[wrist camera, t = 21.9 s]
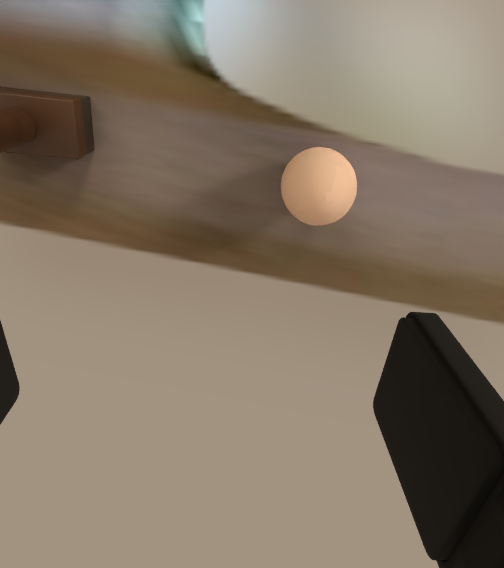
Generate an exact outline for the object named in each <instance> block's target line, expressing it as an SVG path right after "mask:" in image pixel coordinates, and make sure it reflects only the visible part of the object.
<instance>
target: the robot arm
mask: <svg viewBox="0 0 504 568" xmlns="http://www.w3.org/2000/svg"><path fill="white" fill-rule="evenodd" d="M18 395H19V382H18V379H17V375H16V372H15V368H14V365H13V362H12V358H11V355H10V352H9V348H8V345H7V341H6V338H5V335H4V332H3V328H2V324H1V321H0V424H1V423H2V421H3V420H4V418H5V416H6V415H7V413H8V412H9V411H10V409H11V408H12V406H13V405H14V403H15V402H16V400H17V397H18ZM373 408H374V413H375V416H376V419H377V421H378V424H379V427H380V430H381V432H382V435H383V438H384V441H385V443H386V446H387V449H388V451H389V454H390V456H391V459H392V462H393V465H394V467H395V470H396V473H397V475H398V478H399V481H400V483H401V486H402V489H403V491H404V494H405V496H406V499H407V502H408V505H409V507H410V510H411V513H412V515H413V518H414V521H415V523H416V526H417V529H418V531H419V534H420V537H421V539H422V542H423V545H424V547H425V550H426V552H427V554H428V556H429V557H430V558H431V559H432V560H436V561H437V563H438V566H439V568H504V401H503V399H502V398H501V397H500V396H499V394H498V393H497V392H496V390H495V389H494V388H493V386H492V385H491V384H490V383H489V381H488V380H487V379H486V377H485V376H484V375H483V373H482V372H481V371H480V370H479V368H478V367H477V366H476V364H475V363H474V362H473V360H472V359H471V358H470V357H469V355H468V354H467V353H466V351H465V350H464V349H463V347H462V346H461V345H460V343H459V342H458V341H457V340H456V338H455V337H454V335H453V334H452V333H451V332H450V330H449V329H448V328H447V326H446V325H445V324H444V322H443V321H442V320H441V319H440V317H439V316H438V315H437V314H435V313H421V312H410V313H408V315H407V316H406V318H401V319H400V320H399V322H398V325H397V328H396V331H395V334H394V337H393V340H392V343H391V347H390V350H389V353H388V356H387V359H386V362H385V365H384V368H383V372H382V375H381V378H380V381H379V384H378V387H377V390H376V394H375V397H374V401H373Z"/></svg>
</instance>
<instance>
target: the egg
mask: <svg viewBox="0 0 504 568" xmlns="http://www.w3.org/2000/svg"><path fill="white" fill-rule="evenodd" d="M356 192H357V180H356V175H355V172H354V170H353V168H352V166H351V165H350V163H349V162H348V161H347V160H346V158H345V157H344V156H343V155H341V154H340V153H338V152H337V151H335V150H332V149H330V148H323V147H314V148H310V149H307V150H304V151H302V152H300V153H299V154H297V155H296V156H295V157H293V159H292V160H291V161H290V162H289V163H288V164H287V166H286V168H285V170H284V173H283V175H282V181H281V194H282V198H283V201H284V203H285V205H286V207H287V209H288V210H289V211H290V213H291V214H292V215H293V216H295V217H296V218H297V219H299V220H300V221H301V222H304V223H306V224H309V225H327V224H331V223H333V222H335V221H337V220H339V219H340V218H342V217H343V216H344V215H345V214H346V213H347V212H348V211H349V209H350V208H351V206H352V205H353V202H354V200H355V197H356Z"/></svg>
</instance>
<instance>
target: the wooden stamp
mask: <svg viewBox="0 0 504 568" xmlns="http://www.w3.org/2000/svg"><path fill="white" fill-rule="evenodd" d="M92 151H94V139H93V128H92V117H91V106H90V97H88V96H79V95H70V94H61V93H51V92H42V91H33V90H24V89H15V88H6V87H0V153H1V152H11V153H21V154H31V155H42V156H52V157H62V158H72V159H80V158H82V157H83V156H85V155H87V154H89V153H90V152H92Z"/></svg>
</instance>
